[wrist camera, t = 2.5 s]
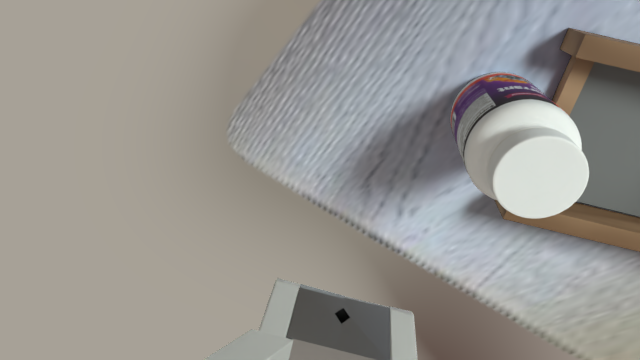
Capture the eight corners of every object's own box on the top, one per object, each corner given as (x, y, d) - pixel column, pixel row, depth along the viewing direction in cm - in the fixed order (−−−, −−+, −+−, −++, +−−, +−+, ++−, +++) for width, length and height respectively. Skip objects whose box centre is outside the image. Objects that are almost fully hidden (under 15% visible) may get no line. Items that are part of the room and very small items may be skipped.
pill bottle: (558, 95, 28) (637, 157, 19) (504, 167, 30) (552, 251, 22) (481, 53, 27) (526, 97, 19) (432, 129, 30) (451, 200, 21)
